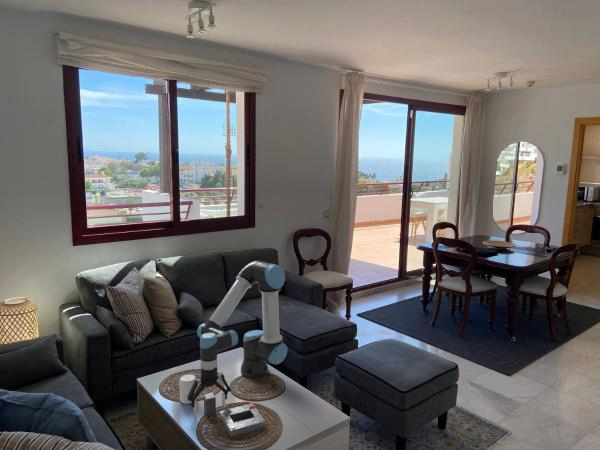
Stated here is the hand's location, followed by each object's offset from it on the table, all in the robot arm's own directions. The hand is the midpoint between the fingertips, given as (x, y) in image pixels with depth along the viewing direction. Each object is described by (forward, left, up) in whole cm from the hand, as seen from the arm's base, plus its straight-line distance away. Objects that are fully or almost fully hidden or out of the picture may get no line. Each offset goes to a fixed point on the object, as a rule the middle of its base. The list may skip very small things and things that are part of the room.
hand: (209, 409), depth 209 cm
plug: (0, 0, -2) cm, 2 cm away
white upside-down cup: (+7, -15, -2) cm, 16 cm away
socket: (-11, +14, -2) cm, 18 cm away
